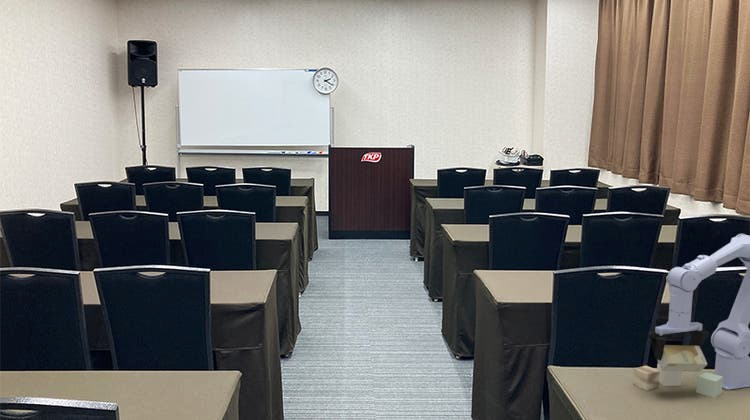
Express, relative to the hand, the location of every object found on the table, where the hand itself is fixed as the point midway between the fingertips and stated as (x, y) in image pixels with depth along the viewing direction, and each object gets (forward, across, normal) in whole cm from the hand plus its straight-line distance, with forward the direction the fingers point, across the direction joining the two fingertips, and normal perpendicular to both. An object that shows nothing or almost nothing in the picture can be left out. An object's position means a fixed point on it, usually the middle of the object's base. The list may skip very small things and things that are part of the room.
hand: (676, 356), depth 202 cm
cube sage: (+10, -9, +4) cm, 14 cm away
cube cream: (+10, -3, -6) cm, 12 cm away
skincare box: (0, -6, +2) cm, 7 cm away
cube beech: (+10, +5, -6) cm, 13 cm away
